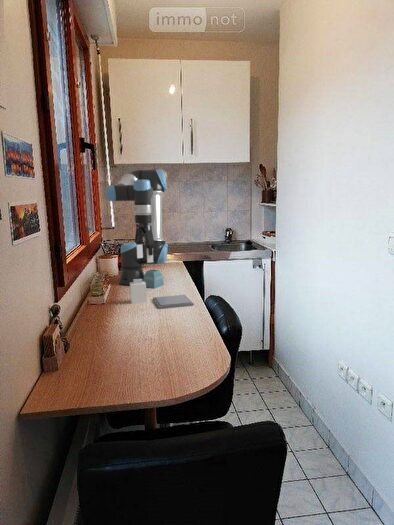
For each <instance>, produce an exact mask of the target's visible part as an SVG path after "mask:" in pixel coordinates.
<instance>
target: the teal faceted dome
mask: <svg viewBox="0 0 394 525" xmlns="http://www.w3.org/2000/svg"><path fill="white" fill-rule="evenodd" d="M143 282H145V283H146V288H150V289H157V288H159V287H162V286H164V277H163V274H162V272H161V271H160V270H157V269H149V270H147V271H145V273H144V278H143Z"/></svg>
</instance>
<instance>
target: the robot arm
mask: <svg viewBox="0 0 394 525" xmlns="http://www.w3.org/2000/svg"><path fill="white" fill-rule="evenodd" d="M167 190H168V186H167V179H166V174H165V171H164V170H163V169H156V168H155V169H136V170H135V169H134V170H132V171H129V172H127V173H125V174H124V175H122V176H121V178H120V180H119V181H118V182H117V183H116V184H110V185H108V184H107V185H106V186H105V197H106V200H107V201H109V202H132V201H133V203H134V205H133V206H134V207H133V210H134V214H135V215H134V221H135V222H134V223H135V235H134V236H135V237H134V241H131V242H127V243H126V242H125V243H123V244H121V246H120V252H119V253H120V261H121V270H120V274H119V278H118V279H119V280H118V282H119V284H120V285H125V286H130V283H132V282H133V279H142V282H143V278H144V275H145V273H144V271H143V265H162V264H165V263H166V262H167V257H168V247H169V244H168V243H166V240H165V239H164V237H163V196H164V194H165V191H167ZM143 239H144V243H143Z"/></svg>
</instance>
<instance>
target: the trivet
mask: <svg viewBox="0 0 394 525" xmlns="http://www.w3.org/2000/svg"><path fill="white" fill-rule="evenodd" d="M152 301H153V302H154V304H155V305H156V307H157V308H158V309H159V310H160V309H161V310H163V309H171V308H181V307H183V308H184V307H191V306H194V302H193V301H192V300H191V299H190V298H189V297H187V295H186V294H177V295H166V296H155V297H152Z"/></svg>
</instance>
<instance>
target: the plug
mask: <svg viewBox="0 0 394 525" xmlns="http://www.w3.org/2000/svg"><path fill="white" fill-rule="evenodd" d="M129 292H130V295H129V296H130V303H131V304H133V305H134V304H141V303H142V304H143V303H144V304H145V303H147V302H148V301H147V298H148V296H147V287H146V283H145V282H142V279H133V282H132V283H130V285H129Z"/></svg>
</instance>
